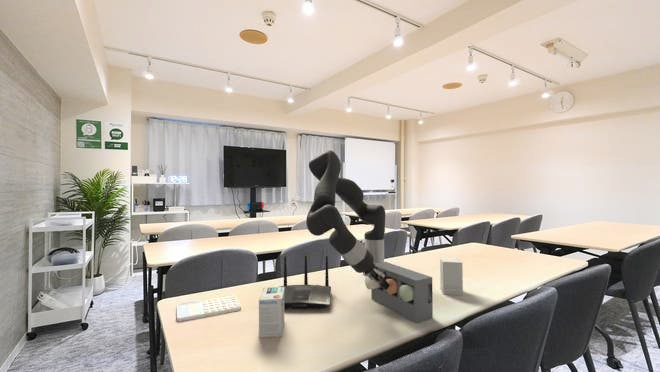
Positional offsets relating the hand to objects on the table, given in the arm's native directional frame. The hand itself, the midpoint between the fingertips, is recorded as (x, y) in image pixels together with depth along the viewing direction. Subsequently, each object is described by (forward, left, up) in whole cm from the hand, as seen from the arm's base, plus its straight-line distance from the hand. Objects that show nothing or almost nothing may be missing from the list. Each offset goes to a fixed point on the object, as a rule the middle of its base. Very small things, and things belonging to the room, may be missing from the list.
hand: (386, 287), depth 102 cm
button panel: (+2, +5, -8) cm, 10 cm away
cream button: (-7, +3, -3) cm, 8 cm away
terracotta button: (+1, +3, -3) cm, 5 cm away
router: (-29, -11, -9) cm, 32 cm away
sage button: (+8, +1, -3) cm, 9 cm away
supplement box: (+10, +33, -8) cm, 35 cm away
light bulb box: (-19, -33, -8) cm, 39 cm away
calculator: (-48, -38, -9) cm, 62 cm away
